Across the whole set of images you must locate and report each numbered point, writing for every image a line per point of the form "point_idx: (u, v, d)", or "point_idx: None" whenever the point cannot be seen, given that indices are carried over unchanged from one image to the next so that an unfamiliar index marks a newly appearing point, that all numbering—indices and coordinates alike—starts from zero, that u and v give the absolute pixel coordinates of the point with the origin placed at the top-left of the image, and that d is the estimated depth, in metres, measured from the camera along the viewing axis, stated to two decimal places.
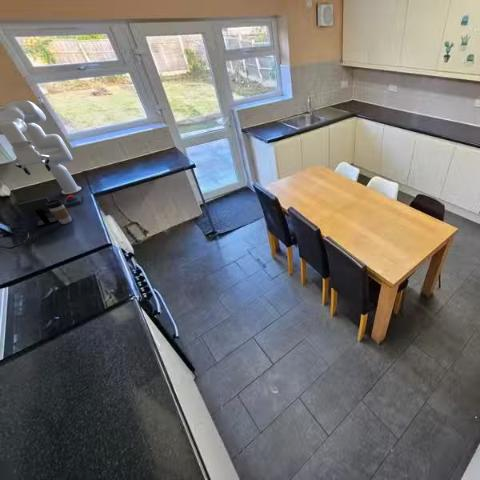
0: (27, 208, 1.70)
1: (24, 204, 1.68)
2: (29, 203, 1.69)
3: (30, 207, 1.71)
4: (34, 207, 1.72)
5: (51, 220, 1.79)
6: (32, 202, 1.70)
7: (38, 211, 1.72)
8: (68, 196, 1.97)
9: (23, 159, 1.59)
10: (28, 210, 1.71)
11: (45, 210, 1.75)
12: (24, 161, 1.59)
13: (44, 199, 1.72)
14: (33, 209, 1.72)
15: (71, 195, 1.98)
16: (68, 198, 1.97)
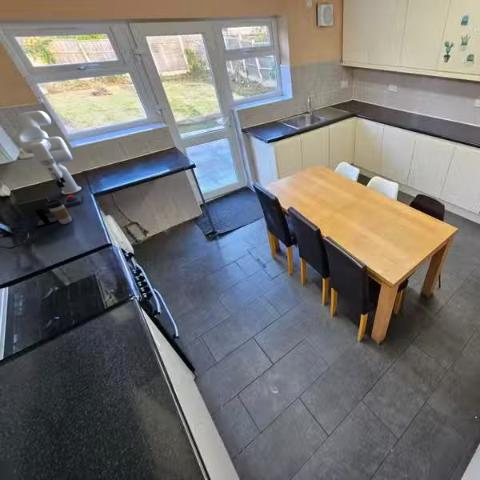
0: (27, 208, 1.70)
1: (24, 204, 1.68)
2: (29, 203, 1.69)
3: (30, 207, 1.71)
4: (34, 207, 1.72)
5: (51, 220, 1.79)
6: (32, 202, 1.70)
7: (38, 211, 1.72)
8: (68, 196, 1.97)
9: None
10: (28, 210, 1.71)
11: (45, 210, 1.75)
12: None
13: (44, 199, 1.72)
14: (33, 209, 1.72)
15: (71, 195, 1.98)
16: (68, 198, 1.97)
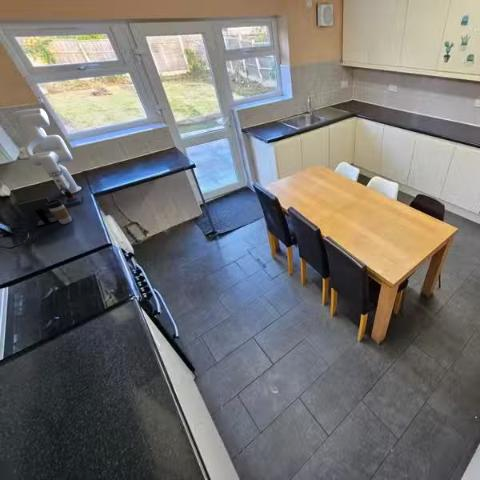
0: (27, 208, 1.70)
1: (24, 204, 1.68)
2: (29, 203, 1.69)
3: (30, 207, 1.71)
4: (34, 207, 1.72)
5: (51, 220, 1.79)
6: (32, 202, 1.70)
7: (38, 211, 1.72)
8: None
9: None
10: (28, 210, 1.71)
11: (45, 210, 1.75)
12: None
13: (44, 199, 1.72)
14: (33, 209, 1.72)
15: None
16: None
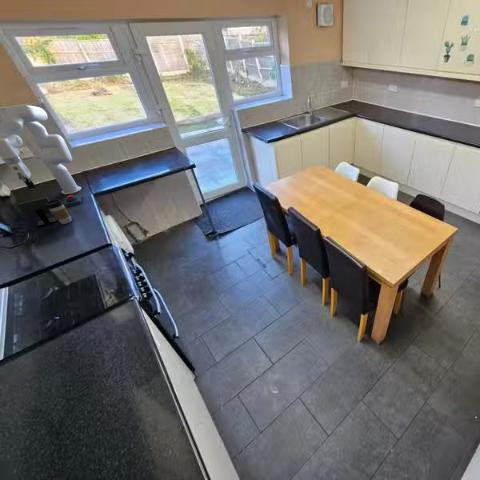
0: (27, 208, 1.70)
1: (24, 204, 1.68)
2: (29, 203, 1.69)
3: (30, 207, 1.71)
4: (34, 207, 1.72)
5: (51, 220, 1.79)
6: (32, 202, 1.70)
7: (38, 211, 1.72)
8: (68, 196, 1.97)
9: None
10: (28, 210, 1.71)
11: (45, 210, 1.75)
12: None
13: (44, 199, 1.72)
14: (33, 209, 1.72)
15: (71, 195, 1.98)
16: (68, 198, 1.97)
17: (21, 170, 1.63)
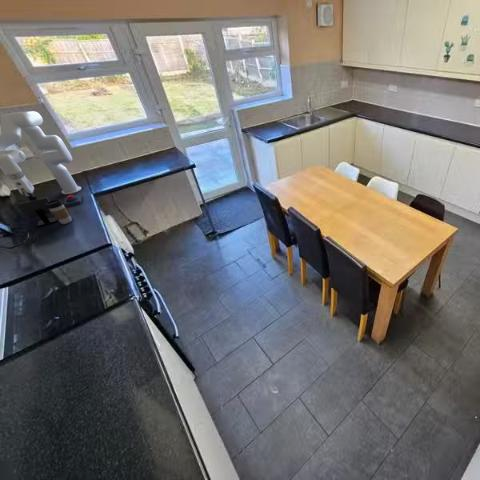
0: (27, 208, 1.70)
1: (24, 204, 1.68)
2: (29, 203, 1.69)
3: (30, 207, 1.71)
4: (34, 207, 1.72)
5: (51, 220, 1.79)
6: (32, 202, 1.70)
7: (38, 211, 1.72)
8: (68, 196, 1.97)
9: None
10: (28, 210, 1.71)
11: (45, 210, 1.75)
12: None
13: (44, 199, 1.72)
14: (33, 209, 1.72)
15: (71, 195, 1.98)
16: (68, 198, 1.97)
17: (24, 185, 1.63)
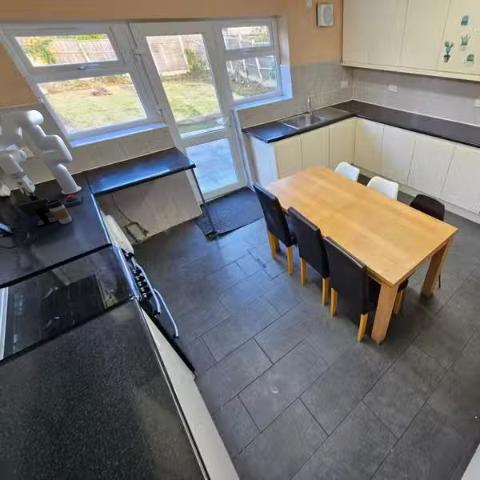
0: (27, 209, 1.70)
1: (24, 205, 1.68)
2: (29, 204, 1.69)
3: (30, 208, 1.70)
4: (35, 208, 1.72)
5: (51, 220, 1.79)
6: (32, 203, 1.69)
7: (38, 211, 1.72)
8: (68, 196, 1.97)
9: None
10: (28, 210, 1.71)
11: (45, 210, 1.76)
12: None
13: (44, 200, 1.72)
14: (33, 209, 1.72)
15: (71, 195, 1.98)
16: (68, 198, 1.97)
17: (25, 185, 1.65)
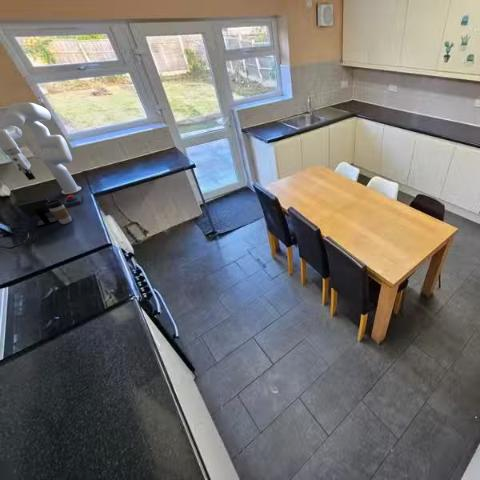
0: (27, 209, 1.70)
1: (24, 205, 1.68)
2: (29, 204, 1.69)
3: (30, 208, 1.70)
4: (35, 208, 1.72)
5: (51, 220, 1.79)
6: (32, 203, 1.69)
7: (38, 211, 1.72)
8: (68, 196, 1.97)
9: None
10: (28, 210, 1.71)
11: (45, 210, 1.76)
12: None
13: (44, 200, 1.72)
14: (33, 209, 1.72)
15: (71, 195, 1.98)
16: (68, 198, 1.97)
17: (21, 161, 1.64)
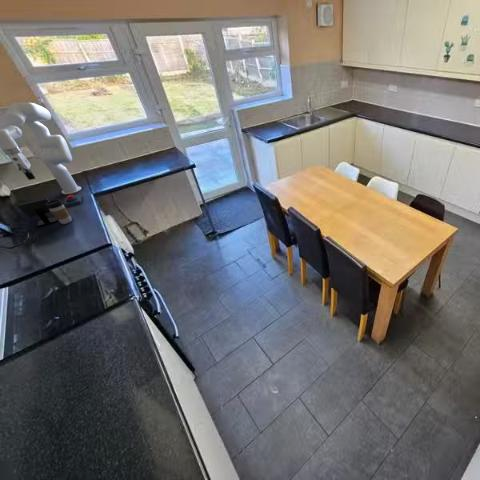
0: (27, 209, 1.70)
1: (24, 205, 1.68)
2: (29, 204, 1.69)
3: (30, 208, 1.70)
4: (35, 208, 1.72)
5: (51, 220, 1.79)
6: (32, 203, 1.69)
7: (38, 211, 1.72)
8: (68, 196, 1.97)
9: None
10: (28, 210, 1.71)
11: (45, 210, 1.76)
12: None
13: (44, 200, 1.72)
14: (33, 209, 1.72)
15: (71, 195, 1.98)
16: (68, 198, 1.97)
17: (21, 161, 1.64)
